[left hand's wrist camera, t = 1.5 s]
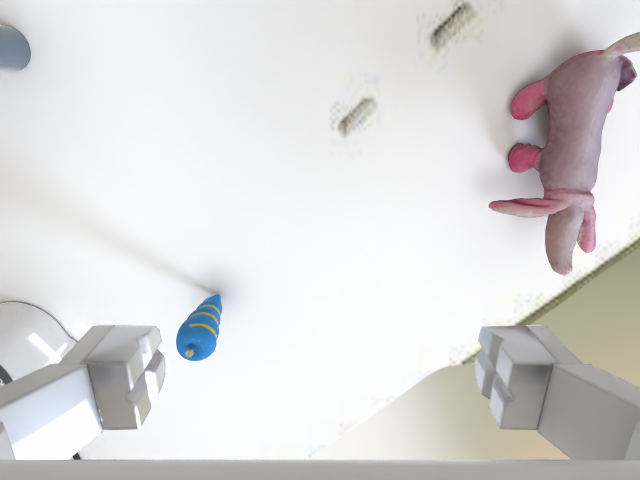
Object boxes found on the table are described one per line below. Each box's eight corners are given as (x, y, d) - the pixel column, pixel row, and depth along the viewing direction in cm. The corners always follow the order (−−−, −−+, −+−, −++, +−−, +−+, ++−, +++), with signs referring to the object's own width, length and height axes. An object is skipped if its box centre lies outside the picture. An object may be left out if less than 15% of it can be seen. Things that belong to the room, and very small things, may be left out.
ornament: (239, 292, 64) (217, 351, 50) (224, 317, 65) (198, 380, 51) (209, 276, 63) (177, 331, 49) (194, 301, 64) (159, 362, 50)
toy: (437, 185, 57) (495, 228, 44) (561, 28, 51) (674, 21, 37) (522, 248, 64) (595, 301, 50) (641, 116, 57) (761, 136, 44)
